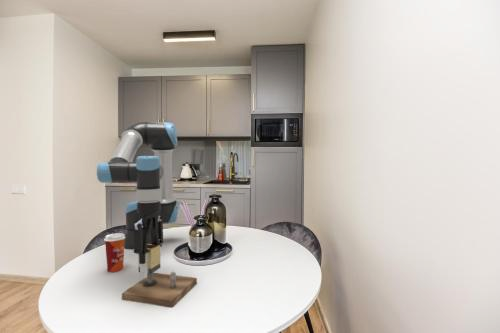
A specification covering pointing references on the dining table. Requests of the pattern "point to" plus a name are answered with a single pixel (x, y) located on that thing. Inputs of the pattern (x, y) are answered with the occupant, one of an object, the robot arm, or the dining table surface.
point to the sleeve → (152, 258)
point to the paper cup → (114, 251)
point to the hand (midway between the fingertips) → (149, 269)
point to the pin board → (160, 289)
